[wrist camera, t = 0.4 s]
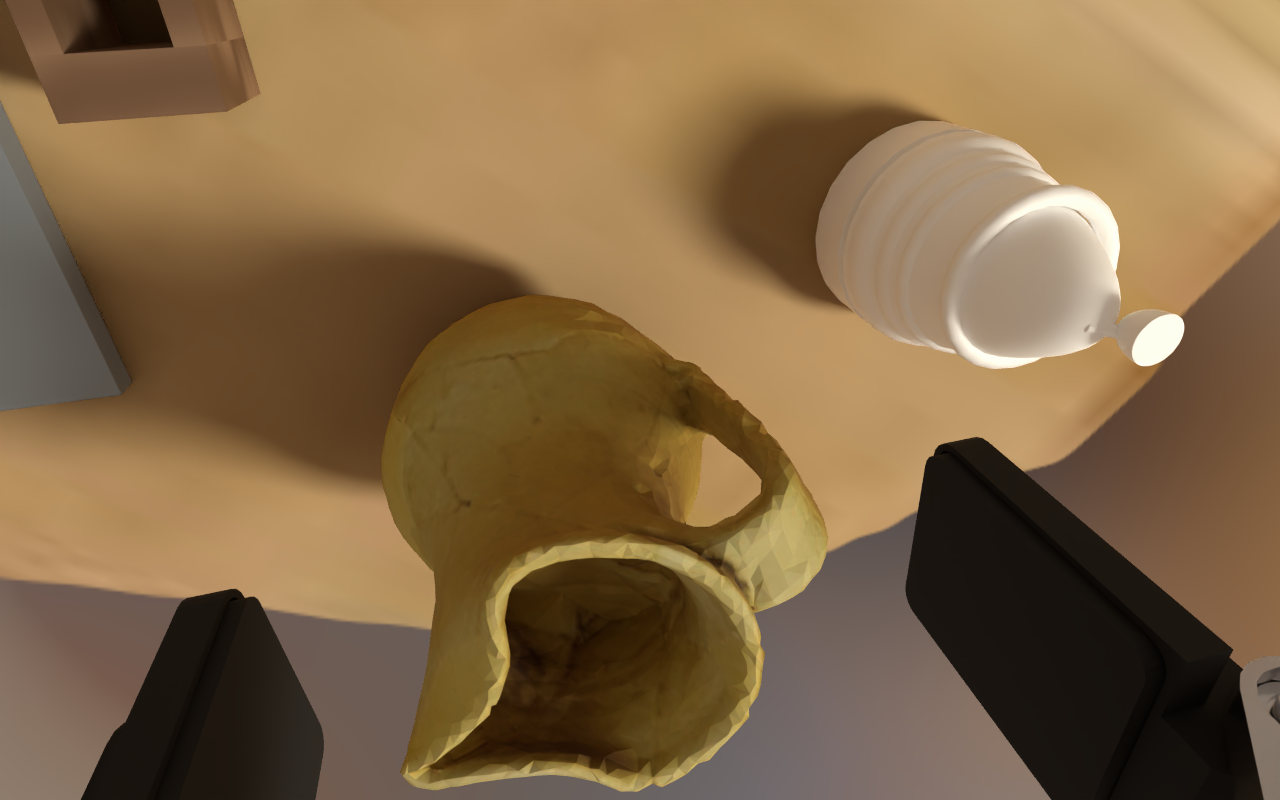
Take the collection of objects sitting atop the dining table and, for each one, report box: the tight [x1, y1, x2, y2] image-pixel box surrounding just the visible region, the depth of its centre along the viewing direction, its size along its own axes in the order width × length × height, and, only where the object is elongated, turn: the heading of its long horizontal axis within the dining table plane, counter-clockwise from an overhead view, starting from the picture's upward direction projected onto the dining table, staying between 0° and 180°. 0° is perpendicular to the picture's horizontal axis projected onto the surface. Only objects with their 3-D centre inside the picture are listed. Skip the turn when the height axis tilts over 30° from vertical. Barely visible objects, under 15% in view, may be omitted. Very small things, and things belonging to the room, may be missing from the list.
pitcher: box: [381, 295, 828, 791], centre depth 36 cm, size 17×19×25 cm
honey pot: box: [815, 121, 1184, 369], centre depth 39 cm, size 13×13×18 cm
